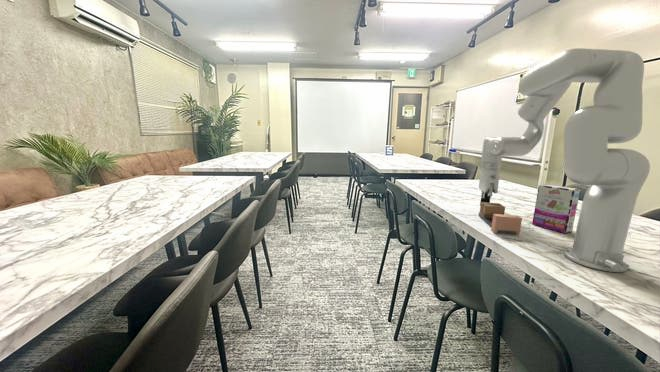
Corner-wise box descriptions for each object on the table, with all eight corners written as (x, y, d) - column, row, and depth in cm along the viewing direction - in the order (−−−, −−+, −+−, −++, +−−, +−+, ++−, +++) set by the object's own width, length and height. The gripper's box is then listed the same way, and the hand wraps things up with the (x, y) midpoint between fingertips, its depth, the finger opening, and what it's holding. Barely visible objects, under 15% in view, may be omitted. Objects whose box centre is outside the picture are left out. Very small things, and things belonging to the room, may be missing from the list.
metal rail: (515, 235, 91) (516, 231, 90) (496, 233, 92) (497, 229, 92) (493, 216, 112) (494, 213, 111) (478, 215, 113) (478, 212, 113)
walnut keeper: (503, 219, 103) (505, 207, 102) (484, 217, 105) (485, 205, 104) (497, 214, 109) (499, 203, 108) (479, 213, 110) (481, 202, 109)
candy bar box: (572, 232, 95) (581, 188, 92) (565, 234, 93) (574, 190, 90) (538, 222, 105) (545, 183, 102) (531, 224, 103) (538, 184, 100)
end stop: (519, 235, 90) (522, 218, 89) (493, 233, 92) (496, 216, 91) (515, 232, 93) (518, 215, 92) (490, 230, 95) (493, 213, 94)
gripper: (507, 168, 103) (500, 212, 107) (493, 164, 117) (488, 203, 121) (486, 168, 105) (480, 210, 109) (475, 163, 119) (470, 201, 123)
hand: (484, 206), depth 115 cm, fingers closed
